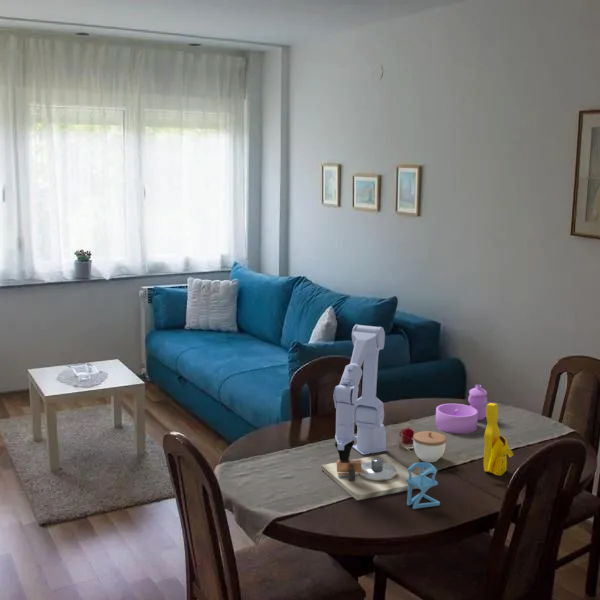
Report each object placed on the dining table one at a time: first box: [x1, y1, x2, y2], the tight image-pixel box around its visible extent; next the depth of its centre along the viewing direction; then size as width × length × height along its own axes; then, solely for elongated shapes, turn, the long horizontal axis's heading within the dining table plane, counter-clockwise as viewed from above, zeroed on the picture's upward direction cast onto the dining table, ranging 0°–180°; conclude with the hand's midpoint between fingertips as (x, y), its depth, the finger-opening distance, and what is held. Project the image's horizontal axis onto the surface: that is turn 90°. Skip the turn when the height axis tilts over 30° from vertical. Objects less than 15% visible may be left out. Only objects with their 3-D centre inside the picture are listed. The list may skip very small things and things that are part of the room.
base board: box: [320, 453, 418, 501], centre depth 233 cm, size 24×24×4 cm
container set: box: [434, 384, 488, 434], centre depth 282 cm, size 25×15×13 cm, turn 133°
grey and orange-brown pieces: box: [336, 458, 396, 481], centre depth 232 cm, size 18×12×4 cm, turn 89°
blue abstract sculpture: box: [406, 461, 441, 510], centre depth 215 cm, size 8×8×12 cm
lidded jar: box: [412, 430, 447, 463], centre depth 248 cm, size 11×11×9 cm
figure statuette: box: [483, 402, 514, 476], centre depth 237 cm, size 18×8×22 cm, turn 140°
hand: (344, 463), depth 234 cm, fingers closed
